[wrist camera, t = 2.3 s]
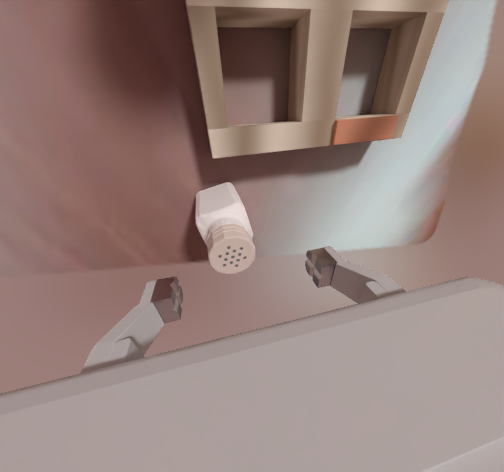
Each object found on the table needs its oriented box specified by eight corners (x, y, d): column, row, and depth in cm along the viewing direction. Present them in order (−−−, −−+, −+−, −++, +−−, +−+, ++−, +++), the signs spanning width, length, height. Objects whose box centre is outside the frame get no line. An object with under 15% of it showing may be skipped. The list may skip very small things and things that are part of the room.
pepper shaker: (193, 191, 19) (190, 244, 11) (230, 178, 19) (253, 222, 11) (208, 223, 21) (215, 286, 13) (241, 211, 21) (267, 266, 13)
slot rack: (210, 152, 17) (213, 159, 14) (181, -20, 12) (176, -63, 9) (376, 135, 20) (404, 138, 17) (416, -9, 15) (467, -38, 12)
